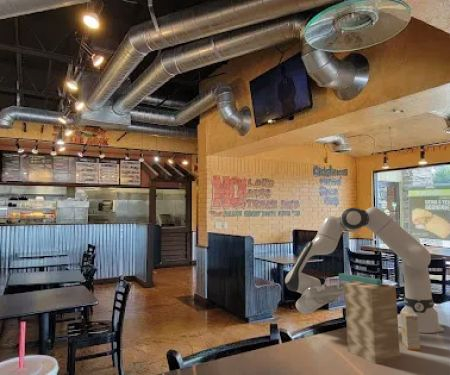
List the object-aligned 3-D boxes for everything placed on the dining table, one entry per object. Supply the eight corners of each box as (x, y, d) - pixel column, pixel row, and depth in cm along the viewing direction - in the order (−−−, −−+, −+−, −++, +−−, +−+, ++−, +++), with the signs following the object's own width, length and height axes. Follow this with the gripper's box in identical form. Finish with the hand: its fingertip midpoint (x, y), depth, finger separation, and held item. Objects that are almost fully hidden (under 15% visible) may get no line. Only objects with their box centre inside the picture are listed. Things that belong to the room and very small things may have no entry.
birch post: (348, 351, 141) (344, 281, 144) (371, 346, 146) (367, 278, 149) (375, 363, 129) (371, 286, 131) (400, 357, 133) (395, 283, 136)
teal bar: (338, 279, 154) (338, 273, 154) (343, 278, 155) (342, 273, 155) (376, 287, 135) (376, 280, 135) (381, 286, 136) (381, 279, 136)
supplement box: (421, 350, 140) (418, 316, 142) (407, 350, 141) (405, 315, 143) (414, 343, 148) (412, 310, 150) (402, 343, 149) (399, 310, 151)
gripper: (297, 292, 167) (312, 280, 156) (332, 287, 175) (349, 276, 164) (301, 305, 163) (317, 294, 153) (337, 300, 171) (354, 289, 161)
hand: (334, 285), depth 159 cm, fingers open, 8 cm apart
